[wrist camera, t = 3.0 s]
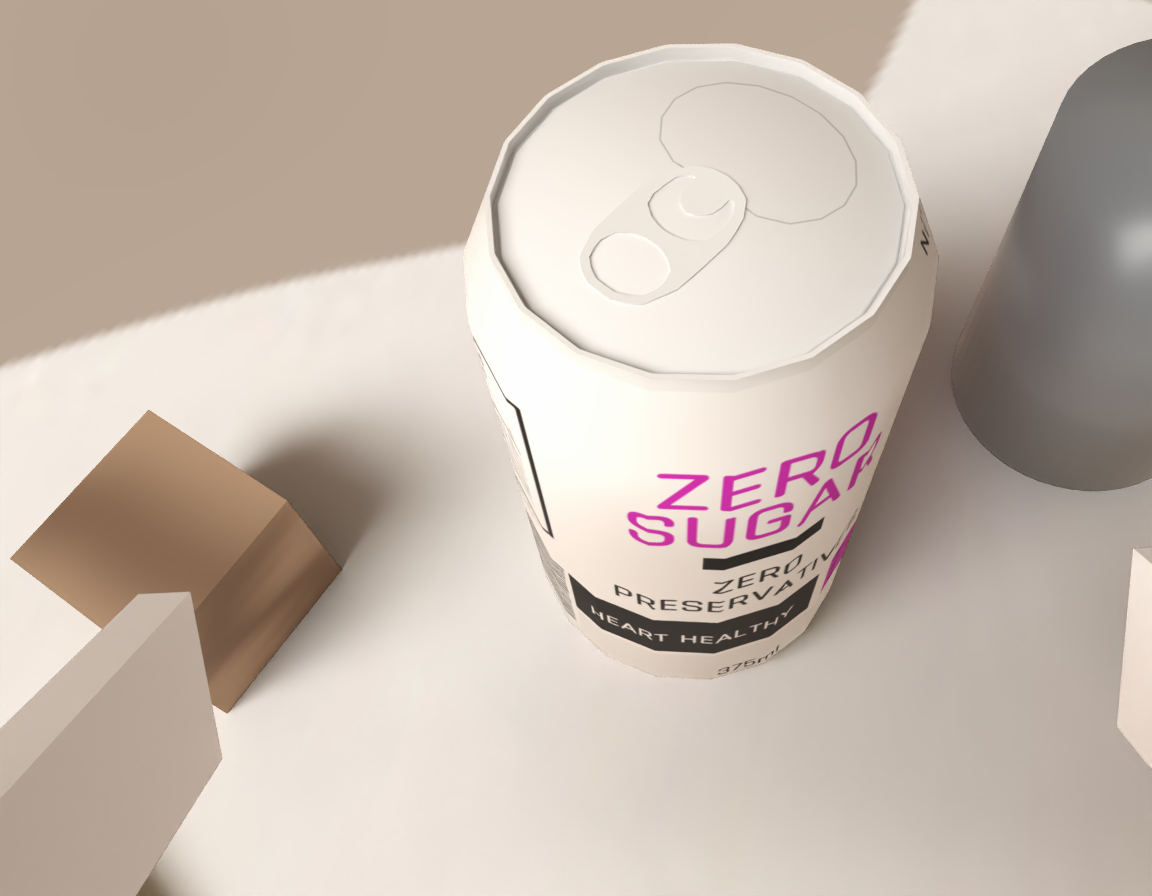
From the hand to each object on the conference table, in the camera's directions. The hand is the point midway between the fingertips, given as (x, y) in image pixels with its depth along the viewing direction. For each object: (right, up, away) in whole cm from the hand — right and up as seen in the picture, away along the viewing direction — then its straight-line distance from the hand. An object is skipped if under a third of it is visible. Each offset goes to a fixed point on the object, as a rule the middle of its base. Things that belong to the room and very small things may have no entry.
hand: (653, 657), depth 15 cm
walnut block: (-11, -1, +16) cm, 20 cm away
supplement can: (+2, 0, +16) cm, 16 cm away
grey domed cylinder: (+14, +5, +17) cm, 22 cm away
